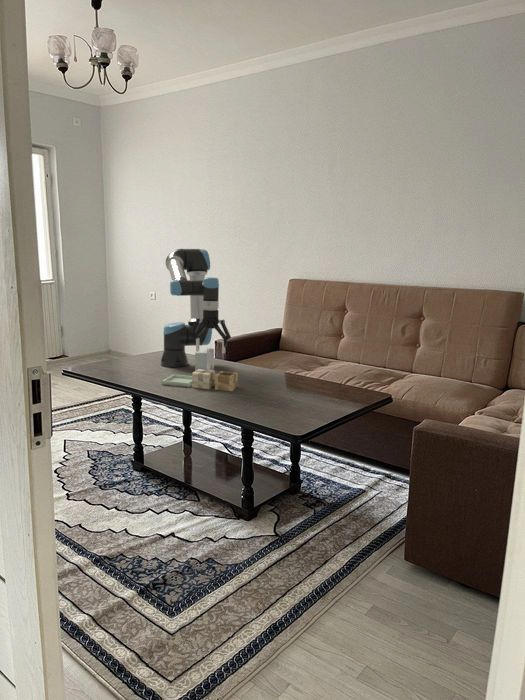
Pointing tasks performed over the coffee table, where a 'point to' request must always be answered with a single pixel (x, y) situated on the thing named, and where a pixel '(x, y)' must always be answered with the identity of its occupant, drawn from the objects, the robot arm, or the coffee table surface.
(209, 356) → the rod
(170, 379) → the tray
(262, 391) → the coffee table surface
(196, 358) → the supplement box
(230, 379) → the oak block
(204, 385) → the birch block
